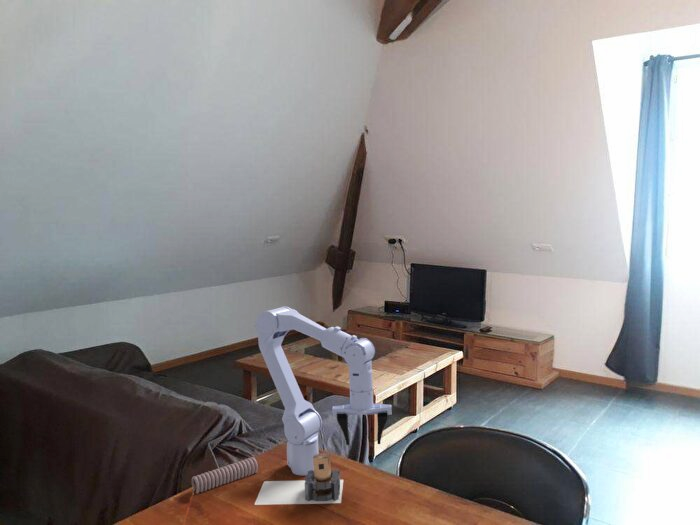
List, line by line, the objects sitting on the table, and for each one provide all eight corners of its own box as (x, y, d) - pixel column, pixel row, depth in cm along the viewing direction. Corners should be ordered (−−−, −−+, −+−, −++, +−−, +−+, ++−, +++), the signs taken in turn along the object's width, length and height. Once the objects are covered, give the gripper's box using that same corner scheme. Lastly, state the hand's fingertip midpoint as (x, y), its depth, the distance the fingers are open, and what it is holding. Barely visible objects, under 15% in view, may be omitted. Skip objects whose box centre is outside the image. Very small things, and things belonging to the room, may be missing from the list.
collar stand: (304, 501, 130) (303, 484, 130) (308, 485, 138) (307, 469, 138) (338, 500, 130) (338, 484, 129) (340, 485, 138) (340, 469, 137)
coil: (196, 482, 135) (261, 460, 147) (188, 474, 139) (252, 453, 150) (196, 500, 136) (261, 477, 147) (188, 491, 140) (252, 469, 151)
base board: (254, 508, 130) (254, 504, 129) (264, 485, 142) (264, 481, 141) (341, 507, 129) (340, 502, 129) (343, 483, 141) (343, 479, 141)
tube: (315, 490, 135) (313, 453, 135) (332, 489, 135) (330, 452, 135) (314, 498, 131) (312, 460, 131) (331, 497, 131) (329, 459, 131)
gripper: (330, 394, 135) (333, 450, 136) (391, 392, 134) (393, 448, 135) (332, 386, 142) (334, 439, 143) (390, 384, 141) (392, 437, 142)
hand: (363, 443), depth 139 cm, fingers open, 7 cm apart
